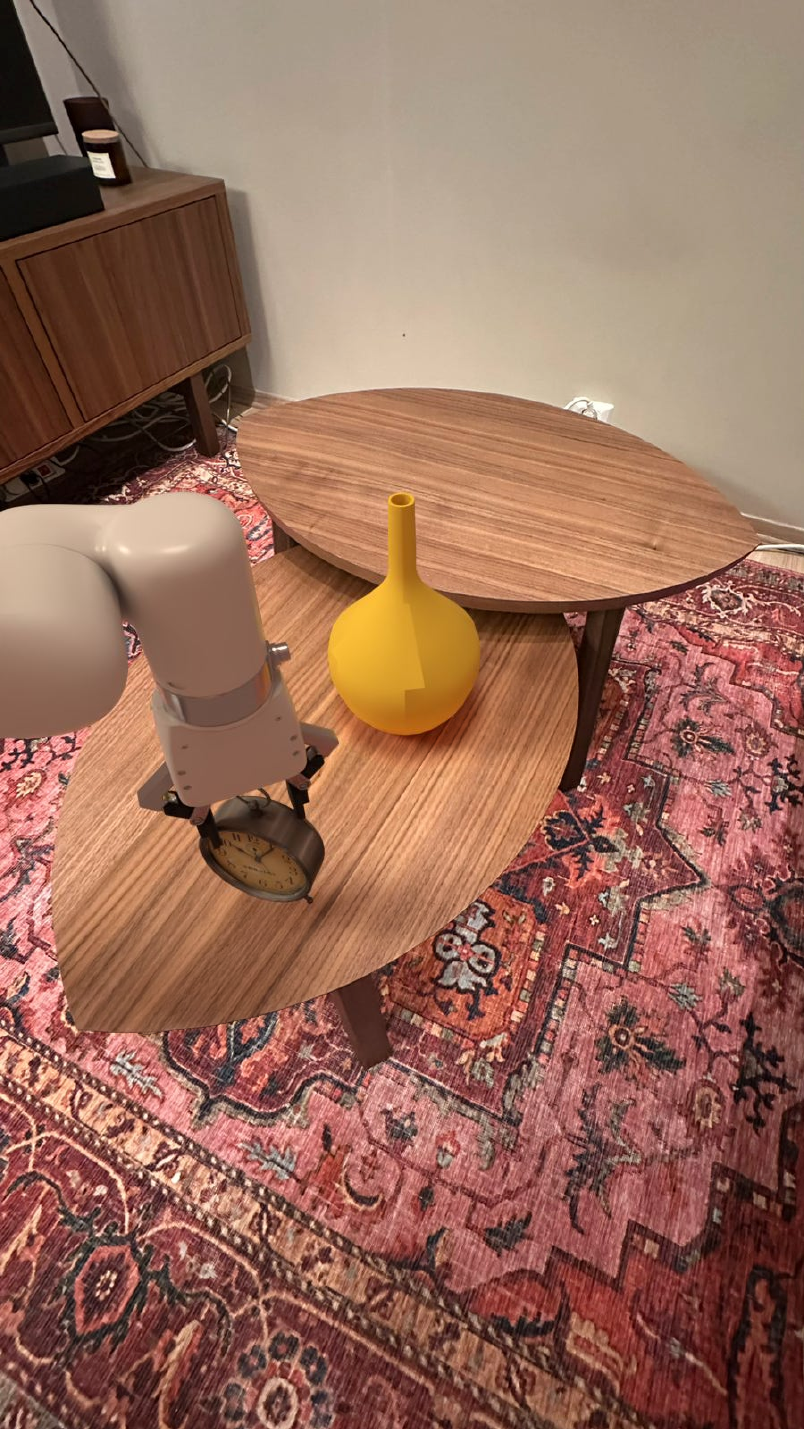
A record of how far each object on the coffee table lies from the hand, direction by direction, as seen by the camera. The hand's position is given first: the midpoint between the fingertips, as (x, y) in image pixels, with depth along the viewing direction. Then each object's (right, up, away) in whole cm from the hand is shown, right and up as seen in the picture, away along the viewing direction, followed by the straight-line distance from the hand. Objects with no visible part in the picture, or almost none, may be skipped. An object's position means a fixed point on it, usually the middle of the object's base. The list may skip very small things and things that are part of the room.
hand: (256, 819), depth 59 cm
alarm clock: (0, -7, +8) cm, 11 cm away
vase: (+13, +10, +30) cm, 34 cm away
